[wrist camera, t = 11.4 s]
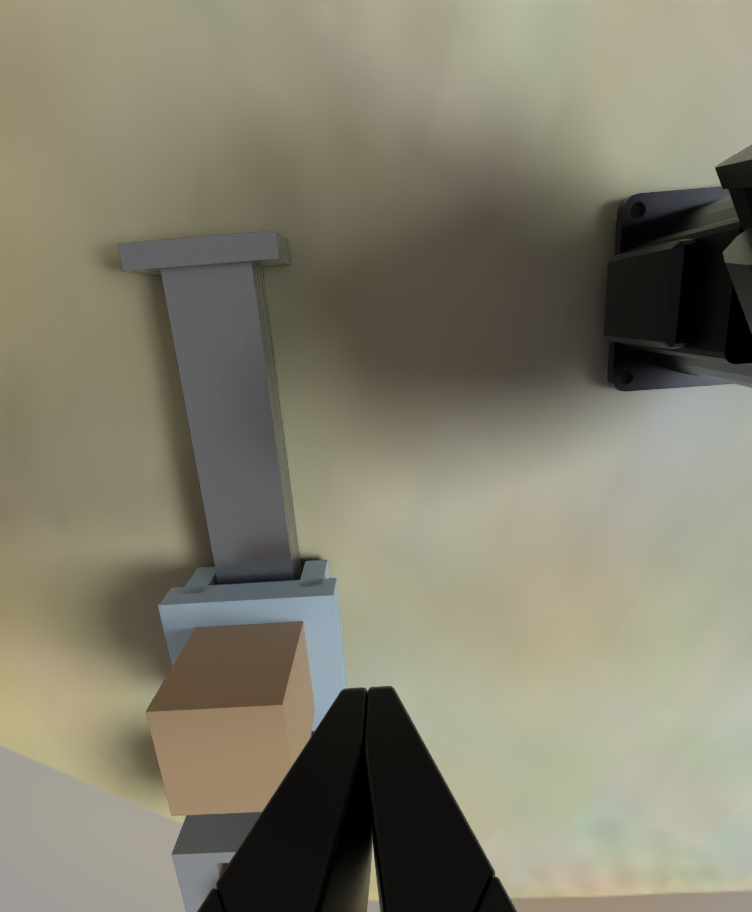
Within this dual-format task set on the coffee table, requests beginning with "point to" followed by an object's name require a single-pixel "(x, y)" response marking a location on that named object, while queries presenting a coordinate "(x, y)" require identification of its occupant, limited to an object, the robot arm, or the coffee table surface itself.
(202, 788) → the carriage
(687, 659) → the coffee table surface
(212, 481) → the rail
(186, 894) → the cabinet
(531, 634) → the coffee table surface
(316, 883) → the robot arm
